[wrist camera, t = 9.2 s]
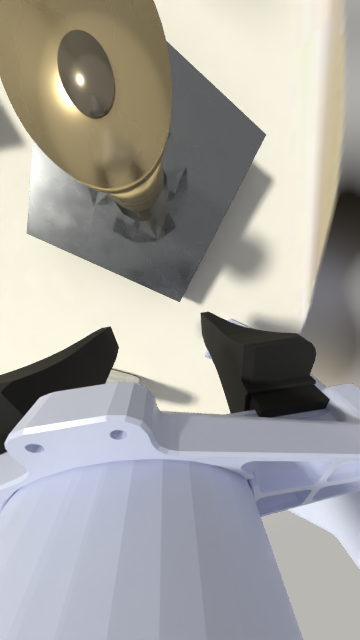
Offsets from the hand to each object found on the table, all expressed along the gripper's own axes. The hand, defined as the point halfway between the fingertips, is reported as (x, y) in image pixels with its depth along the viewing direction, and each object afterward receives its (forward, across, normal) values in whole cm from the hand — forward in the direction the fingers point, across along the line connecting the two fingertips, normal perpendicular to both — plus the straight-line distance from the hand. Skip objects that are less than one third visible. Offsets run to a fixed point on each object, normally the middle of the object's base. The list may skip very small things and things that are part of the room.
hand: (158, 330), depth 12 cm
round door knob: (+5, 0, -11) cm, 12 cm away
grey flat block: (+10, 0, -11) cm, 15 cm away
